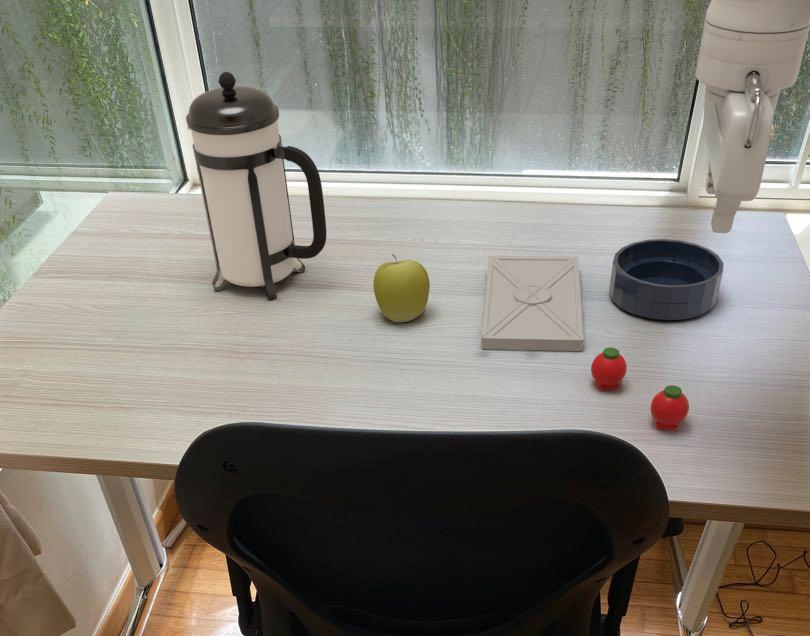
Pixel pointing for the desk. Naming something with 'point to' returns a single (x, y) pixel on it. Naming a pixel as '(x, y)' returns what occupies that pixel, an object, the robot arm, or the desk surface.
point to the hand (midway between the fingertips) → (716, 210)
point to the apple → (401, 289)
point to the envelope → (533, 304)
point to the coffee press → (250, 186)
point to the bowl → (665, 279)
